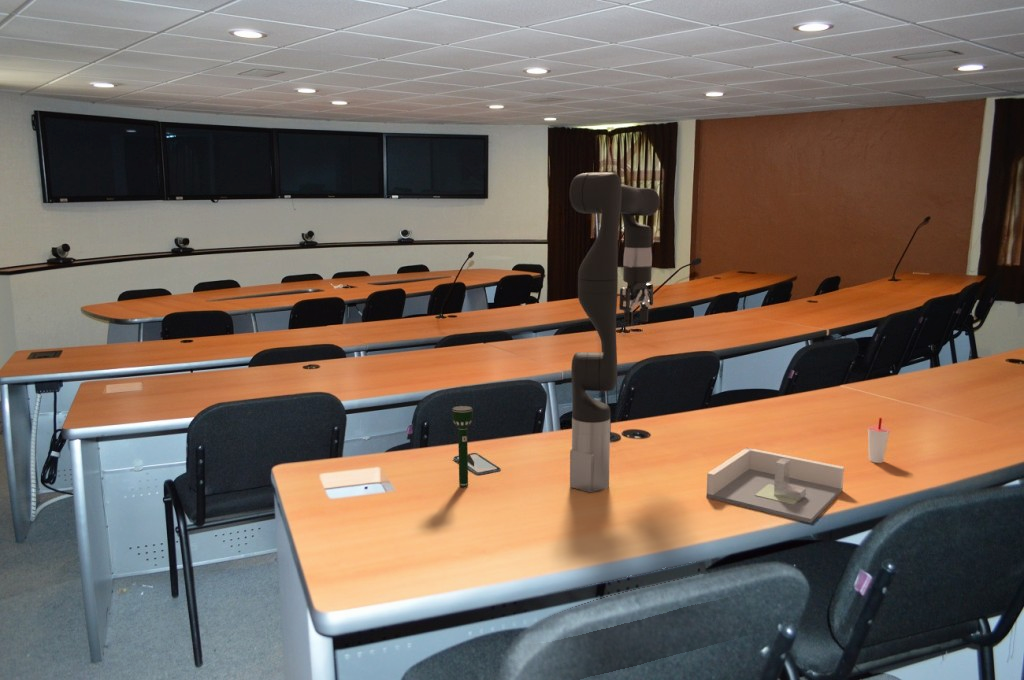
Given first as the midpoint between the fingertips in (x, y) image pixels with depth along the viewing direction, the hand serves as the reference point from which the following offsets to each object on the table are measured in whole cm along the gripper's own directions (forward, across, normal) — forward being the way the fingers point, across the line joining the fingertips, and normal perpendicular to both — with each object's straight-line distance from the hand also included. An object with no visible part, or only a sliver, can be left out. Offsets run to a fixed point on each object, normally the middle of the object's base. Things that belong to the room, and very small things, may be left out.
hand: (636, 323), depth 205 cm
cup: (+36, -32, +56) cm, 74 cm away
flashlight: (+36, +50, -19) cm, 65 cm away
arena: (+36, +8, +43) cm, 57 cm away
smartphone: (+37, +36, -27) cm, 58 cm away
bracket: (+35, +10, +47) cm, 59 cm away
